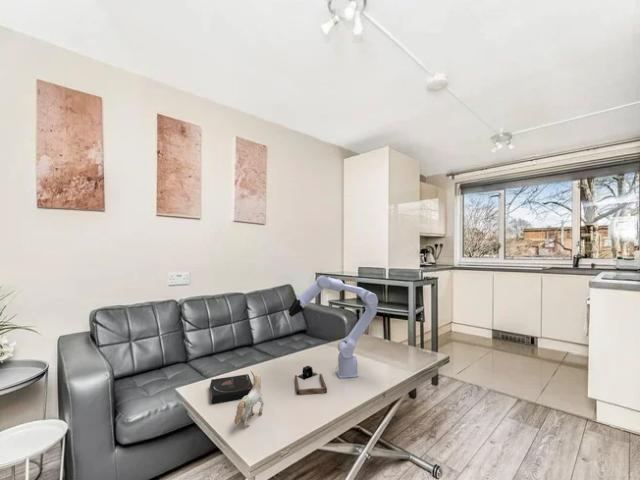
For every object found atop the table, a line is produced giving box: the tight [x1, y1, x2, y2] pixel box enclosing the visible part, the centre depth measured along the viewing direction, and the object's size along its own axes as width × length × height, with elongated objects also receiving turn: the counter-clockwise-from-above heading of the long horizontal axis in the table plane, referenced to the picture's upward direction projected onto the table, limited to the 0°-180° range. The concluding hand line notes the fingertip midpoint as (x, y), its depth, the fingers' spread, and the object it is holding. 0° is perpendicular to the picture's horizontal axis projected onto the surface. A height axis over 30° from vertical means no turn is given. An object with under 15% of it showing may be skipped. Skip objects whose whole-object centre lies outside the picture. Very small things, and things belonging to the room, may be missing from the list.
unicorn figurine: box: [233, 370, 265, 428], centre depth 111 cm, size 7×20×13 cm, turn 176°
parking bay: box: [294, 373, 328, 396], centre depth 137 cm, size 13×16×2 cm
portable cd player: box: [209, 373, 253, 405], centre depth 131 cm, size 16×17×4 cm
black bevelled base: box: [297, 365, 319, 381], centre depth 149 cm, size 12×7×5 cm, turn 132°
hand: (289, 313), depth 147 cm, fingers open, 7 cm apart
